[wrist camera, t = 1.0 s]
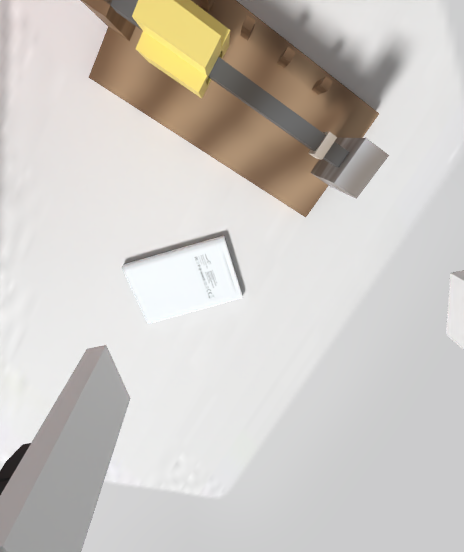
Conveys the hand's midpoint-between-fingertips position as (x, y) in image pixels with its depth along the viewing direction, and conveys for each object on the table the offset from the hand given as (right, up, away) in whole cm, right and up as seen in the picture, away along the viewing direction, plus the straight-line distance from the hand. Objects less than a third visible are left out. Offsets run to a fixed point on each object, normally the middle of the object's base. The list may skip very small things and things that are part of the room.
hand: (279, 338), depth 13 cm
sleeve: (-5, +20, +14) cm, 25 cm away
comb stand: (-1, +20, +19) cm, 28 cm away
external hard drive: (-8, +2, +28) cm, 29 cm away
